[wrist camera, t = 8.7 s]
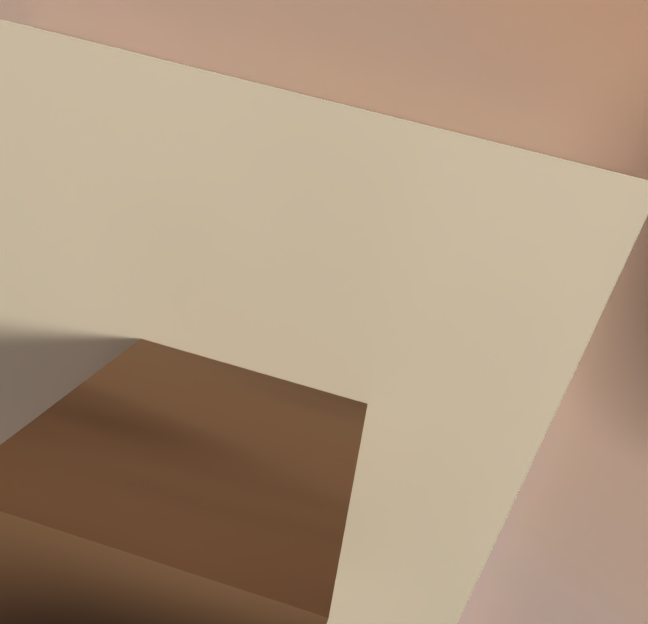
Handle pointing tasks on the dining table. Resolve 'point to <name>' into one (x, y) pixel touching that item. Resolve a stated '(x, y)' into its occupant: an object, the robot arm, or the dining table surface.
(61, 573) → the walnut block
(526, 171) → the plate
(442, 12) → the dining table surface
